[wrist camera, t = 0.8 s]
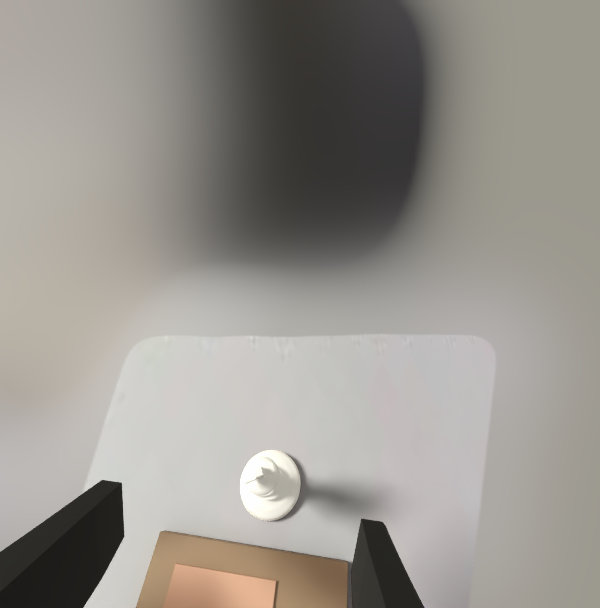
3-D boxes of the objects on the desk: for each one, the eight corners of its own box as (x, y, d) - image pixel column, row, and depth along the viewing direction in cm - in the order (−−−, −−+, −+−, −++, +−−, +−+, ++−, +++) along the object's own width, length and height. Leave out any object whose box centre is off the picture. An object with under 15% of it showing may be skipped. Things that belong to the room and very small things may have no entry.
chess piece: (309, 505, 23) (317, 505, 15) (248, 532, 22) (220, 549, 14) (289, 441, 25) (286, 410, 17) (234, 462, 24) (203, 441, 16)
